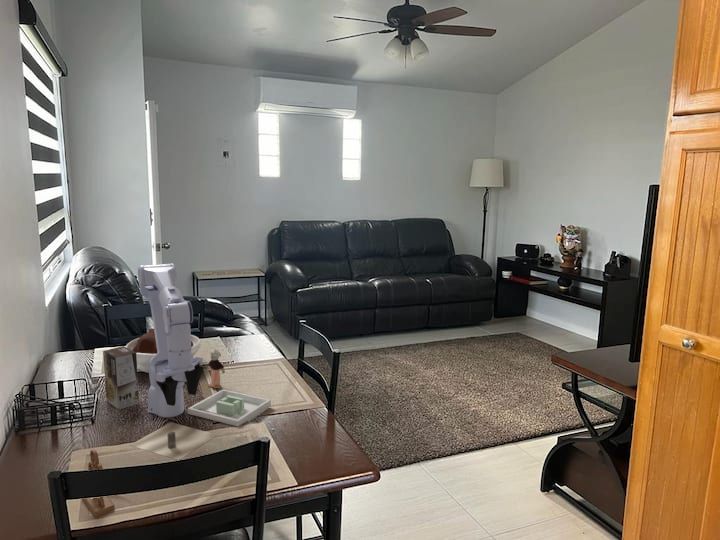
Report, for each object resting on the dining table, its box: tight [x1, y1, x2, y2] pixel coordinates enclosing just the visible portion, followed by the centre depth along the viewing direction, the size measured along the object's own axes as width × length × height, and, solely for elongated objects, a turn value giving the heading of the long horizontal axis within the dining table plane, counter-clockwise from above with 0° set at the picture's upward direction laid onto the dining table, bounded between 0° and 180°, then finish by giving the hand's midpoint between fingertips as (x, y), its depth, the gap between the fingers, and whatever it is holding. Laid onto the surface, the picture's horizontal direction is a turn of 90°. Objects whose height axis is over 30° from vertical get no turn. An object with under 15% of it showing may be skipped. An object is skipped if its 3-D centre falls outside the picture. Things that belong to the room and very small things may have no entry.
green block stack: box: [216, 395, 245, 417], centre depth 151 cm, size 7×6×3 cm
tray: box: [187, 388, 272, 427], centre depth 152 cm, size 18×16×2 cm
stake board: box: [129, 421, 218, 461], centre depth 133 cm, size 16×14×5 cm
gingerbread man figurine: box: [82, 448, 116, 518], centre depth 108 cm, size 9×4×12 cm, turn 43°
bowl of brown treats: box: [125, 328, 202, 374], centre depth 185 cm, size 25×25×15 cm
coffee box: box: [102, 345, 140, 410], centre depth 156 cm, size 9×6×16 cm
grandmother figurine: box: [207, 349, 226, 389], centre depth 169 cm, size 8×4×13 cm, turn 68°
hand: (181, 399), depth 136 cm, fingers open, 7 cm apart
